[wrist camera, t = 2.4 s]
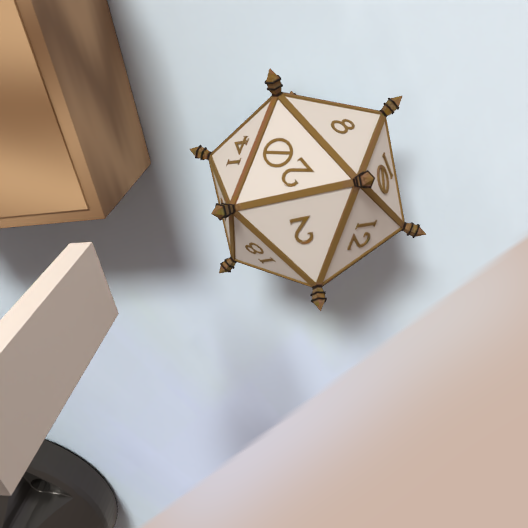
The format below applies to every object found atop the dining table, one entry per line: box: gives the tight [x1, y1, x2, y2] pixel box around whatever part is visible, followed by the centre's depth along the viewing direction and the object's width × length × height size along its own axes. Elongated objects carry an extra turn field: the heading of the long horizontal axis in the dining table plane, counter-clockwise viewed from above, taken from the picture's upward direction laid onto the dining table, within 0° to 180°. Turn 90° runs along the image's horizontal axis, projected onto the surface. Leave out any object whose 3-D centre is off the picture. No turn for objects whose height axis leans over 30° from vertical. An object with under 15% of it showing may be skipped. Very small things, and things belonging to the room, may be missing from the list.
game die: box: [190, 69, 426, 311], centre depth 20 cm, size 9×8×10 cm
